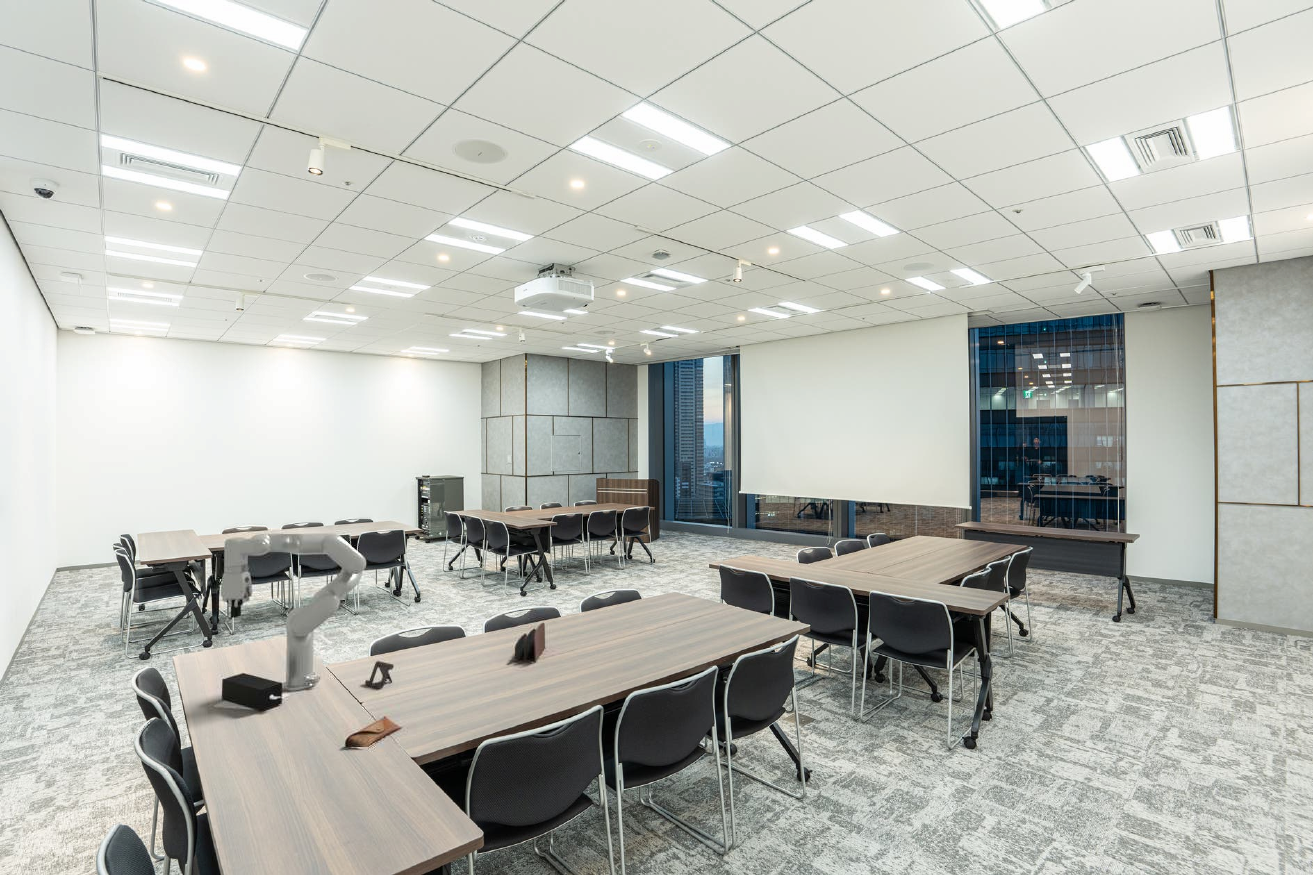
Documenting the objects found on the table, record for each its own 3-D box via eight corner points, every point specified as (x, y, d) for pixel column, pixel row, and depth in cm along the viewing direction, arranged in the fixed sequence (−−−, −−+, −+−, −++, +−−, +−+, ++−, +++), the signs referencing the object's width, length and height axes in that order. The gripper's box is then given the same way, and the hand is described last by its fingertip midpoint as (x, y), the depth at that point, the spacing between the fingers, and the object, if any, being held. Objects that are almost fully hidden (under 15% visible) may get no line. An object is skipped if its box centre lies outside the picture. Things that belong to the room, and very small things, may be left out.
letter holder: (545, 649, 298) (545, 620, 299) (535, 663, 278) (535, 632, 279) (525, 649, 299) (525, 620, 299) (514, 663, 279) (514, 631, 279)
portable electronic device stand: (364, 685, 251) (365, 665, 251) (381, 679, 258) (381, 659, 258) (379, 689, 247) (379, 668, 247) (395, 683, 254) (396, 662, 254)
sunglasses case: (366, 750, 196) (357, 730, 197) (350, 759, 197) (342, 739, 198) (404, 726, 213) (396, 708, 214) (389, 735, 214) (381, 717, 216)
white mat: (290, 695, 241) (290, 694, 241) (262, 710, 227) (262, 708, 227) (244, 692, 243) (244, 691, 243) (214, 706, 230) (214, 705, 230)
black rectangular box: (242, 692, 242) (287, 705, 230) (221, 699, 235) (266, 713, 223) (243, 672, 243) (287, 684, 230) (221, 678, 236) (266, 691, 223)
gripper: (260, 568, 243) (260, 614, 242) (226, 567, 245) (226, 613, 245) (245, 571, 235) (245, 619, 235) (210, 571, 238) (210, 618, 237)
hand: (235, 616), depth 240 cm, fingers closed
